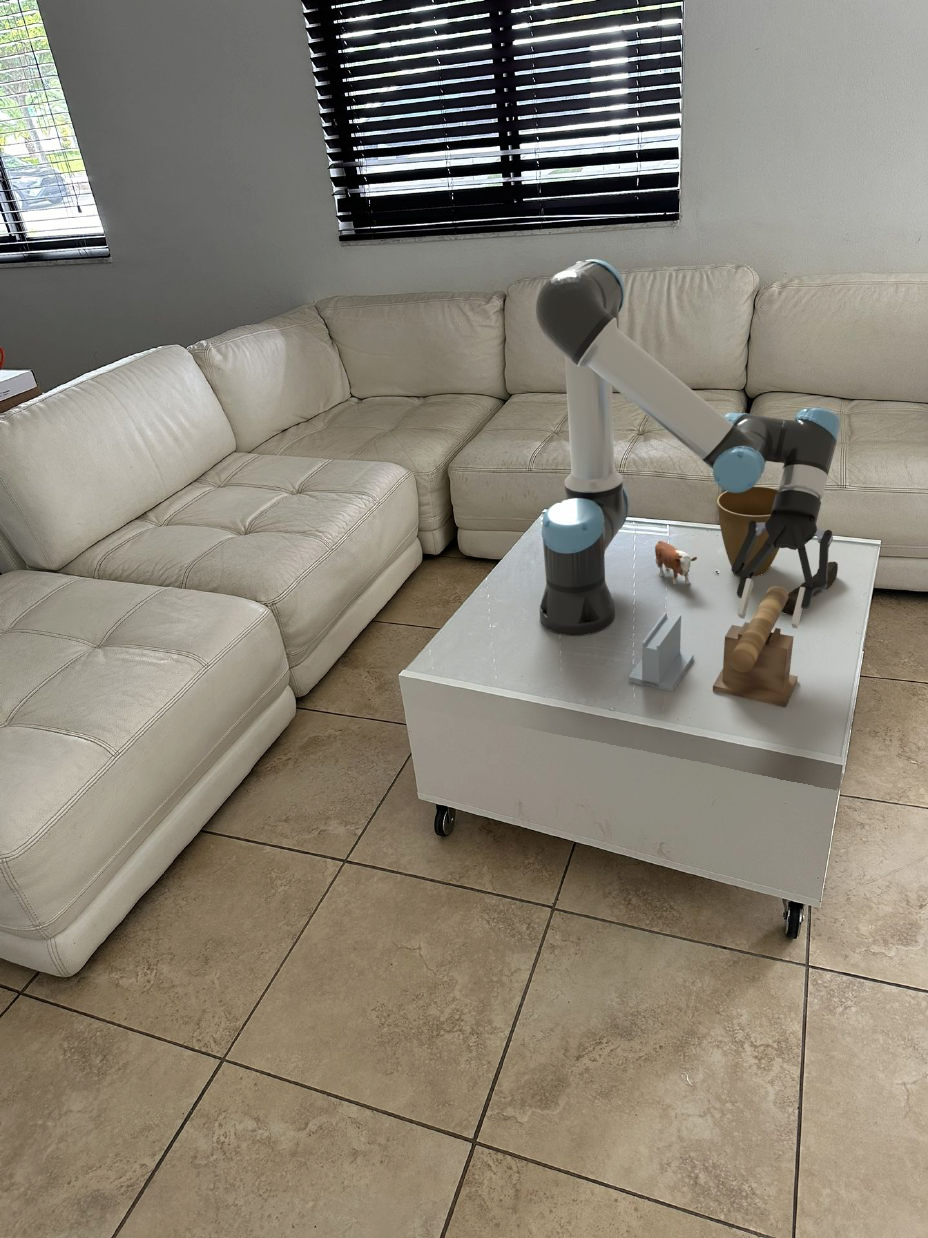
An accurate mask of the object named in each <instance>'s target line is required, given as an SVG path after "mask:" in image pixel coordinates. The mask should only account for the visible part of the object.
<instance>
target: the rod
mask: <svg viewBox="0 0 928 1238" xmlns="http://www.w3.org/2000/svg"><path fill="white" fill-rule="evenodd" d="M788 592H789V591H787V590H786V588H784V587H782V586H780V585H773V586H771V587H769V588H768V589H767V591H766V592H765V594H764V597H763V598H762V600H761V602H760V603H759V605H758V607H757V608H756V610H755V613H754V614H753V616H752V618H751V620H750V622H748V623H749V625H748V626H747V628H746V630H745V632H744V633H743V635H742V637H741V639H740V641H739V642H738V644H737V646H736V648H735V649H734V651H733V653H732V655H731V656H730V659H729V662H730V665H731V666H732V668H734V669H735V670H736V671H739V672H748V671H750V670H751V669H752V667H753V665H754V663H755V662H756V660H757V658H758V656H759V654H760V652H761V650H762V648H763V646H764V644H765V642H766V640H767V638H768V637H769V635H770V633H771V632H772V630H773V629H774V627H775V624H776V623H777V621H778V619H779V617H780V615H781V613H783V612H782V610H783V608H784V606H785V604H786V602H787V600H788V597H789V596H788V594H789V593H788Z"/></svg>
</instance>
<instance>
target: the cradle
mask: <svg viewBox="0 0 928 1238" xmlns="http://www.w3.org/2000/svg"><path fill="white" fill-rule="evenodd" d="M681 627H682V614H678V615H677V616H675V617H674V616H669V615H668V611H664V612H663V614H662V615H661V616H660V617H659V619H658V620H657V622H656V623H655V624H654V626H653V627H652V628H651V630H650V631H649V632H648V634H647V635H646V637H644V639H643V640H642V642H641V659H640V661H639V662H637V664H636V666H635V667H634V668H633V670H632V671H631V672H630V674H629V676H628V682H629V683H634V684H638V685H643V686H646V687H652V688H654V689H655V688H656V689H659V690H662V691H668V692H672V693H673V692H674V690H675V689H676V687H677V686H678V684H679V683H680V681H681V679H682V678H683V676H684V675H685V673H686V671H687V670H688V668H689V666H690V665H691V663H692V662H693V660H694V659H695V658H694V657H695V656H694V653H689V652H686V651H681V637H682V636H681V633H682V632H681V630H682V628H681Z"/></svg>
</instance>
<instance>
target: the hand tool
mask: <svg viewBox="0 0 928 1238" xmlns="http://www.w3.org/2000/svg"><path fill="white" fill-rule="evenodd" d="M838 565H839V564H838V562H836V561H828V577H827V588H826V589H825V590H826V591H827V590H829V589H830V588H831V587H832V586H833V584H835V581H836V580H837V576H838V572H839V571H838V570H839V566H838ZM818 574H819V568H817V572H816V573H815V574H814V575H812V578H813V581H818ZM800 587H806V584H805V581H804V582H803V583H801V584H800V585H798V586H797V587H796V588H793V590H791V591H790V592H789V593H788V596H789V597H788V600H787V602H786V604H785V606H784V608H783V610H782V612H781V613H783V614H785V615H788V614H789V615H788V616H793V614H794V610H795V606H796V602H797V598H798V594H799V590H800ZM825 590H816V591H815V592H814V593H813V596H812V600H813V599H814V597H816V596H818V595H819V594H820V593H822V591H825Z"/></svg>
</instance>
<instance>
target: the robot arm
mask: <svg viewBox="0 0 928 1238" xmlns="http://www.w3.org/2000/svg"><path fill="white" fill-rule="evenodd" d="M625 289H626V288H625V284H624V281H623V278H622V276H621V274H620V273H619V272H618V271H617V269H616V268H615V267H614V266H613V265H611V264H610V263H609V262H606V261H604V260H600V259H593V258H592V259H586V260H581V261H577V262H574V263H572V264H571V265H570V266H569V267H567V268H566V269H564V270H562V271H559V272H557V273H555V274H554V275H552V276H551V277H550V278H549V279H547V281H546V282H545V283H544V284H543V285H542V287H541V288H540V290H539V292H538V295H537V296H536V297H537V298H536V301H535V317H536V319H537V323H538V326H539V328H540V330H541V332H542V333H543V335H544V336H545V338H546V339H547V340H548V341H549V342H550V343H551V344H552V345H553V346H554V347H555V348H556V349H557V350H558V351H559V352H560V353H561V354H563V356H564V367H565V370H564V371H565V385H566V386H565V387H566V399H567V400H566V402H567V418H568V419H567V420H568V436H569V451H570V453H569V454H570V467H571V469H570V471H571V473H570V474H569V475H568V476H567V477H566V478H565V479H564V493H565V495H564V497H565V499H564V500H561V501H560V502H556V503H554V504H553V505H551V506H550V507H549V508H548V509H547V510H546V511H545V513H544V514H543V517H542V520H541V521H542V526H541V537H542V546H543V547H542V548H543V557H544V571H545V572H544V573H545V586H544V587H545V588H544V591H543V595H542V598H541V601H540V605H539V619H540V623H541V625H543V627H545V628H546V630H548V631H551V632H553V633H556V634H559V635H564V636H574V637H575V636H585V635H586V636H587V635H591V634H595V633H598V632H600V631H602V630H605V629H606V628H608V627H609V626H610V625H612V623H613V622H614V620H615V619H616V618H615V617H616V605H615V601H614V600H613V597H612V594H611V591H610V589H609V586H608V584H607V582H606V567H605V566H606V565H605V563H606V562H605V557H606V556H605V554H606V553H605V552H606V550H607V549H608V547H609V546H610V544H611V543H612V541H613V539H614V538H615V537H616V536H617V534H618V532H619V531H620V530H621V529H622V528H623V526H624V525H625V523H626V520H627V518H628V515H629V511H630V499H629V495H628V493H627V490H626V488H625V487H624V486H623V485H624V483H623V481H624V480H623V476H622V475H621V474H620V472H618V471H617V470H616V469H615V440H614V439H615V435H614V409H613V408H614V405H613V404H614V403H613V402H614V400H613V388H614V389H616V391H617V392H619V393H620V394H621V395H622V396H623V397H625V398H626V399H627V400H628V401H630V402H631V403H632V404H633V405H634V406H635V407H637V408H638V409H640V410H641V411H642V412H643V413H644V414H646V415H647V416H648V417H649V418H650V419H652V420H653V421H654V422H655V423H657V424H658V425H659V426H660V427H661V428H662V429H664V430H665V431H666V432H667V433H668V434H669V435H671V436H672V437H673V438H675V439H676V440H678V442H680V443H681V444H682V445H683V446H684V447H685V448H686V449H688V450H689V451H690V452H692V453H693V454H694V455H695V456H697V458H698V459H700V460H701V461H703V462H704V463H705V464H706V465H707V466H709V467H710V468H711V470H712V475H713V479H714V480H715V483H716V484H717V485H718V487H719V488H720V489H722V490H723V491H724V492H725V491H728V492H732V493H740V492H744V491H747V490H749V489H750V488H752V487H753V486H756V484H757V483H758V481H759V480H760V478H762V475H763V474H764V471H765V470H766V469H765V468H766V464H767V462H770V463H780V464H781V463H782V464H783V466H782V470H781V474H780V477H779V481H778V484H777V488H776V489H777V492H778V494H776V496H775V500H774V504H773V507H772V511H771V515H770V517H769V519H768V520H767V521H766V522H762V523H756V522H755V521H753V520H752V521H750V522H749V528H748V534H747V536H746V538H745V541H744V543H743V545H742V547H741V549H740V551H739V553H738V555H737V558H736V560H735V562H734V564H733V566H732V567H731V569H730V570H731V572H732V574H733V576H734V577H737V578H739V582H738V586H737V590H736V595H737V598H738V599H740V603H739V606H738V610H737V616H738V617H739V618H740V619H743V620H744V619H745V617H746V615H747V610H748V606H749V602H750V599H751V595H752V592H753V588H754V582H753V580H752V578H753V577H754V576H753V575H754V574H755V573H756V572H757V570H758V569H759V568H760V567H761V565H762V564H763V563H764V562H765V560H766V559H767V558H768V557H769V555H770V554H771V553H772V552H774V550H775V549H776V548H779V549H789V550H793V551H797V553H798V557H799V561H800V566H801V570H802V575H803V579H804V582H805V584H806V587H800V590H799V594H798V598H797V602H796V606H795V610H794V614H793V615H792V619H791V621H790V625H791V627H792V628H793V629H796V630H797V629H798V628H799V624H800V620H801V615H802V612H803V610H806V611H807V610H809V609H810V608H811V604H812V600H813V599H812V596H813V593H814V592H815V591H816V590H823V591H825V589H826V588H827V577H828V562H829V550H830V549H829V548H830V546H831V545H832V541H833V540H834V536H833V535H834V534H833V531H832V530H830V529H827V530H823V529H820V528H818V527H817V523H818V522H817V521H818V517H819V513H820V510H821V505H822V501H821V500H822V499H823V497H824V493H825V489H826V485H827V481H828V477H829V471H830V469H831V466H832V465H831V464H832V461H833V457H834V453H835V451H836V450H835V449H836V446H837V442H838V437H839V430H840V426H841V424H840V423H841V422H840V419H839V417H838V415H836V414H835V413H834V412H832V411H830V410H828V409H825V408H820V407H813V408H805V409H802V410H800V411H798V412H797V414H796V416H795V417H794V419H785V418H784V419H783V418H782V419H781V418H775V417H770V416H761V415H755V414H750V413H747V412H743V413H740V412H739V413H737V412H728V413H727V414H725V415H723V414H721V412H719V411H718V410H717V409H715V408H714V407H713V406H712V405H711V404H710V403H708V402H707V401H706V400H705V399H703V398H702V397H701V396H700V395H699V394H698V393H696V391H694V390H693V389H691V388H690V387H689V386H688V385H687V384H685V383H684V382H683V381H682V380H681V379H679V377H677V376H676V375H674V374H673V373H672V372H671V371H669V369H667V368H666V367H665V366H664V365H662V364H661V363H660V362H659V361H658V360H656V358H654V357H652V356H651V355H650V354H649V353H648V352H646V350H644V349H643V348H642V347H641V346H640V345H639V344H638V343H636V342H634V341H633V339H631V337H629V336H628V335H627V334H625V333H623V331H621V330H620V321H619V318H620V317H619V314H620V312H621V310H622V307H623V305H624V302H625V301H624V300H625V295H626V291H625ZM763 530H767V532H768V534H769V537H768V539H767V540H766V541H765V543H764V545H763V546H762V548H761V549H760V550H759V551H758V553H757V554H756V555H755V556H754V558H753V559H752V560H751V561H750V563H749V564H748V565H747V566H746V568H745V569H744V570H743V568H744V566H745V564H746V562H747V559H748V557H749V555H750V553H751V551H752V549H753V547H754V544H755V542H756V540H757V535H760V534H761V533H762V531H763ZM815 537H816V538H817V543H818V544H819V550H818V551H819V553H818V554H819V556H818V569H819V574H818V581H813V578H812V577H813V575H812V570H811V567H810V566H811V565H810V561H809V558H808V553H807V549H806V544H808V543H809V542H810V541H811V540H812V539H813V538H815Z"/></svg>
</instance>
